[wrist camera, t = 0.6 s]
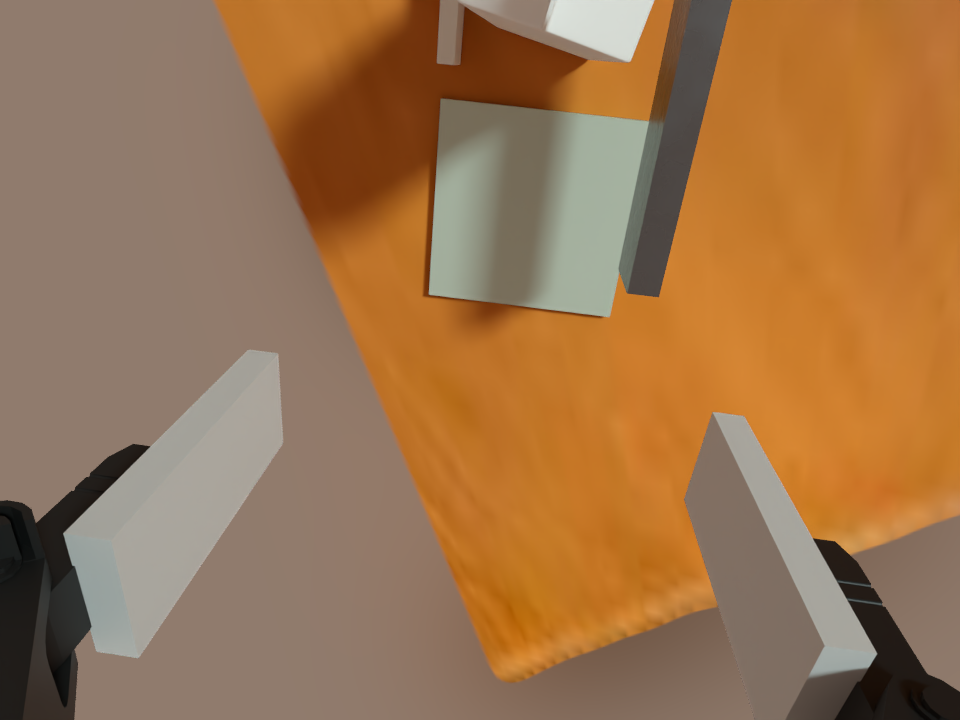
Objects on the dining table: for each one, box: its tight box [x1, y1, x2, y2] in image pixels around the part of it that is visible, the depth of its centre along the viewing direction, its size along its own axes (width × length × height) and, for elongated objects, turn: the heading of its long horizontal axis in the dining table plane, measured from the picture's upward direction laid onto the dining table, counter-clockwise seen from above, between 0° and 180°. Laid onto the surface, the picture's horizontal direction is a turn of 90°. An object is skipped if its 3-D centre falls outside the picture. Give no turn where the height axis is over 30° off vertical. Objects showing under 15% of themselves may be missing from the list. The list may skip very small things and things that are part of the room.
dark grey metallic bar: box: [618, 0, 732, 297], centre depth 27 cm, size 23×3×5 cm, turn 174°
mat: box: [429, 98, 649, 317], centre depth 40 cm, size 13×13×1 cm
